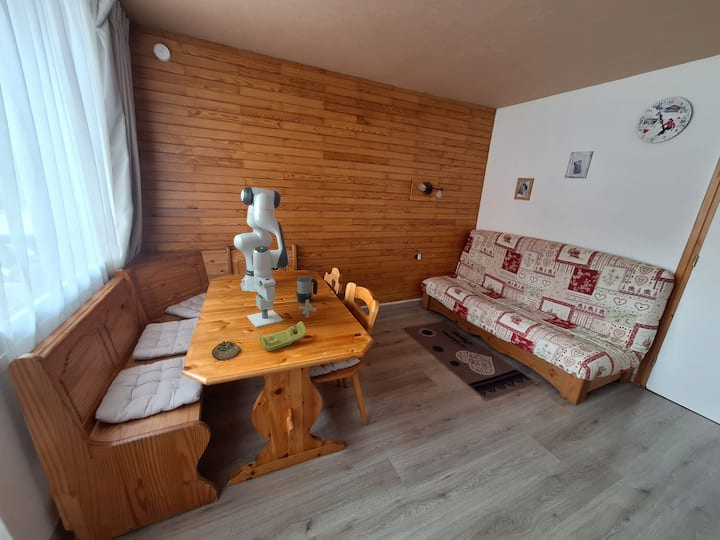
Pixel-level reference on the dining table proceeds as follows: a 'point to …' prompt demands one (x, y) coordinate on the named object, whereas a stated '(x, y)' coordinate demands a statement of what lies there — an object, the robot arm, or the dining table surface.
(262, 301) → the sleeve
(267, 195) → the robot arm
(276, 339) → the plastic component
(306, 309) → the pipe connector
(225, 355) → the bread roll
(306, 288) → the milk frother
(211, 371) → the dining table surface
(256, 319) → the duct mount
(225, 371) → the dining table surface
